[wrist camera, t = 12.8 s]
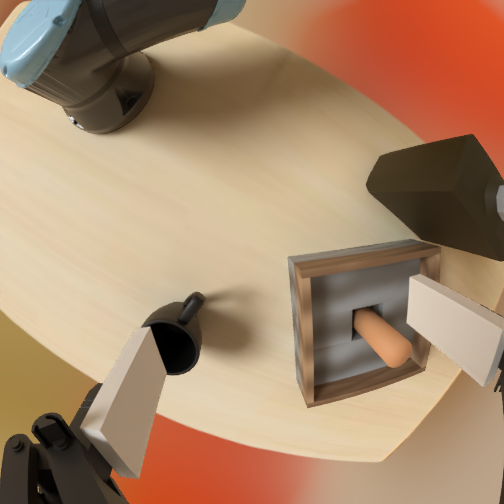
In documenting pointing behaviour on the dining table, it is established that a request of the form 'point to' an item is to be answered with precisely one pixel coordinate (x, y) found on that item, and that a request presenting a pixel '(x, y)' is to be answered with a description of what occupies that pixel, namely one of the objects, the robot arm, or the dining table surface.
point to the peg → (381, 337)
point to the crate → (340, 316)
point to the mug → (178, 333)
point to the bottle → (445, 194)
